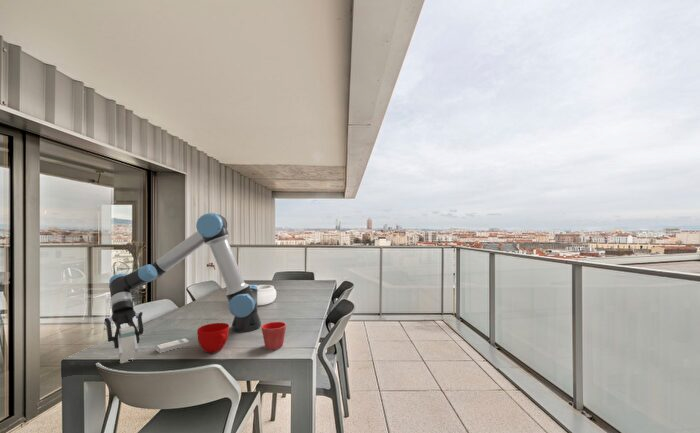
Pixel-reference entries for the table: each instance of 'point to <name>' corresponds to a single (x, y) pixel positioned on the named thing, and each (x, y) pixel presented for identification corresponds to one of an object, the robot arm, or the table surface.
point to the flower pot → (273, 335)
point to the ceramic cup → (213, 336)
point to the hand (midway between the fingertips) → (128, 352)
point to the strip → (172, 345)
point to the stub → (127, 343)
